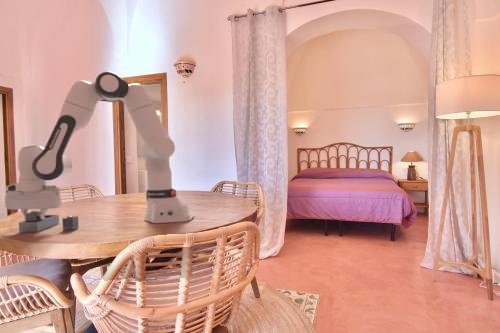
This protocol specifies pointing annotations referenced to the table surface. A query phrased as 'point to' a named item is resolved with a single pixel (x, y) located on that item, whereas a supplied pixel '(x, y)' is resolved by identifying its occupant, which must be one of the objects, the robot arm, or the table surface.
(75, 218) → the dark grey block
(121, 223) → the table surface
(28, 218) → the nut
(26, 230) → the grey holder block
